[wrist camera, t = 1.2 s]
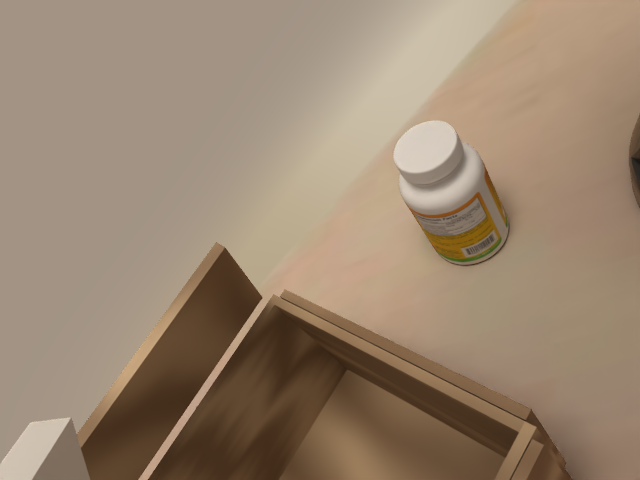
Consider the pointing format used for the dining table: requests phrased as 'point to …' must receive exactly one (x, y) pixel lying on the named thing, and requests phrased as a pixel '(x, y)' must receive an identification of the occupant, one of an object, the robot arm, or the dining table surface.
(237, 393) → the wooden open box
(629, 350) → the dining table surface
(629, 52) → the dining table surface
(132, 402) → the flap
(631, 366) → the dining table surface
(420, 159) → the supplement bottle
